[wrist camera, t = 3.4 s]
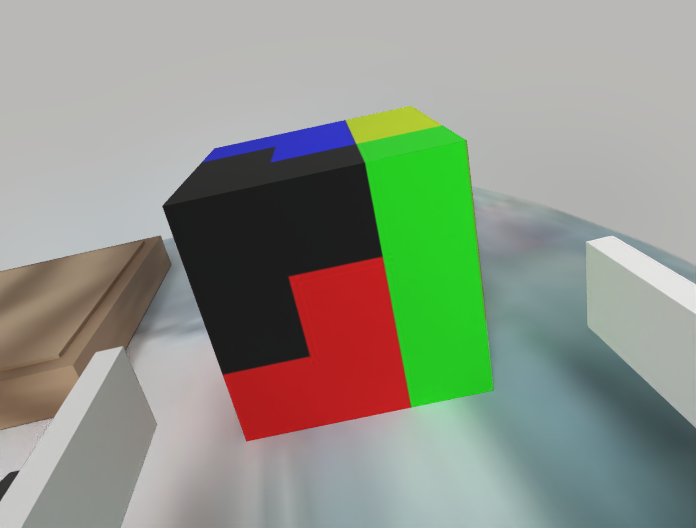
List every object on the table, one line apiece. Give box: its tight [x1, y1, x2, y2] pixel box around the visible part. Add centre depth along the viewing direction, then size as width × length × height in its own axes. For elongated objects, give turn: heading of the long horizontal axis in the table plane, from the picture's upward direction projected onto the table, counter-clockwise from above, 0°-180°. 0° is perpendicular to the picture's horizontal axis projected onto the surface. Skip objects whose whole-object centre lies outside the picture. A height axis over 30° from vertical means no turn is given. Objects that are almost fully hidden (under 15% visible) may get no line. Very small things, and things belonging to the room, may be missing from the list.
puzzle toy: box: [163, 106, 494, 441], centre depth 23 cm, size 10×10×10 cm
